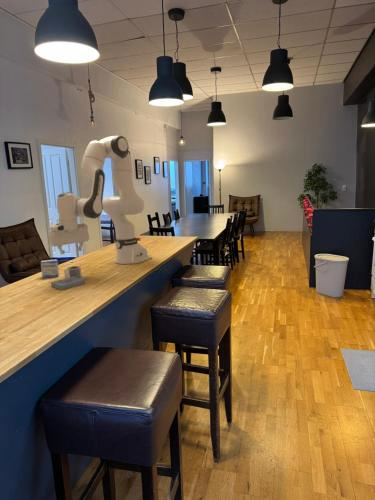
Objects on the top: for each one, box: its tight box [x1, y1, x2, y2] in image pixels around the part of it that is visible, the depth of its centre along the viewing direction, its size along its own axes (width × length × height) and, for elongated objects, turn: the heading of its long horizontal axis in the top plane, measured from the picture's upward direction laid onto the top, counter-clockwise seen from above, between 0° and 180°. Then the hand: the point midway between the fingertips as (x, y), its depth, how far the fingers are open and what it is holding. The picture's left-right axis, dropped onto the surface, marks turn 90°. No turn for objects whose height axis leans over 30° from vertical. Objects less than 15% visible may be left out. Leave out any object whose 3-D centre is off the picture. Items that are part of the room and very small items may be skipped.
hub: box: [66, 265, 83, 278], centre depth 180 cm, size 6×6×5 cm
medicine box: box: [40, 258, 60, 279], centre depth 183 cm, size 8×4×9 cm, turn 105°
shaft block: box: [50, 268, 86, 291], centre depth 167 cm, size 12×10×8 cm
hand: (71, 252), depth 177 cm, fingers open, 8 cm apart
